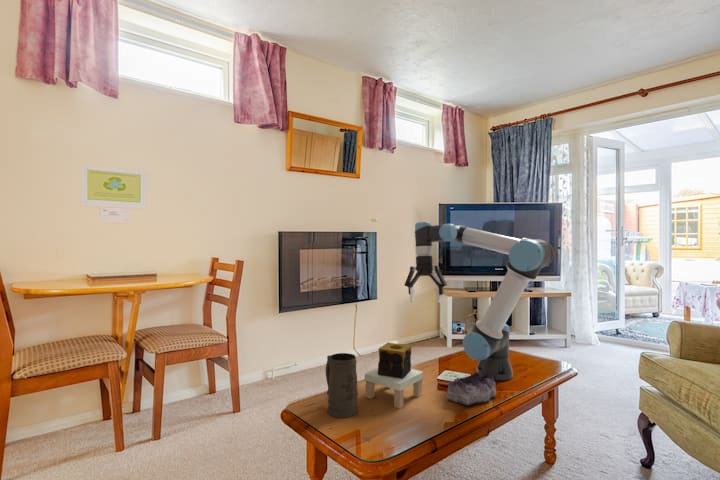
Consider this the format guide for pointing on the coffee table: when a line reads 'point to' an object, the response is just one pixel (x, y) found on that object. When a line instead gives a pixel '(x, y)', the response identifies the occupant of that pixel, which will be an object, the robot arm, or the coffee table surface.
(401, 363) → the candle
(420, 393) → the footstool
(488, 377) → the geode
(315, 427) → the coffee table surface
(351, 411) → the beer stein
